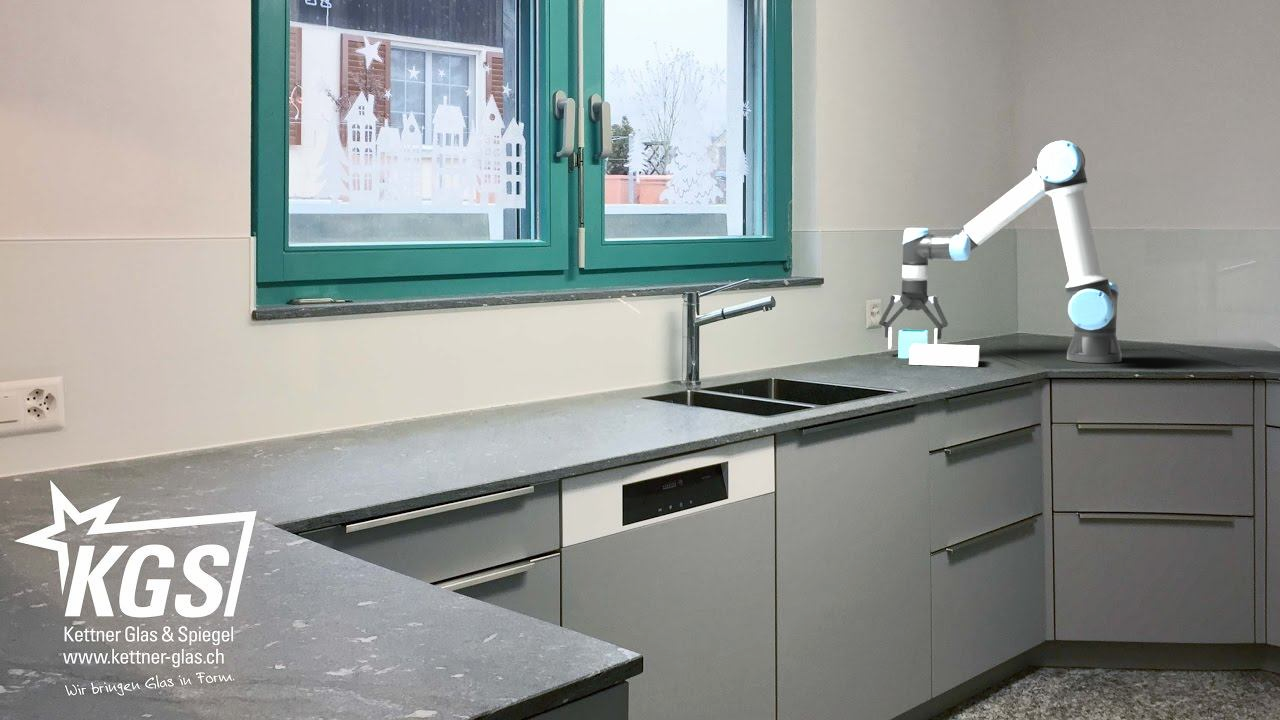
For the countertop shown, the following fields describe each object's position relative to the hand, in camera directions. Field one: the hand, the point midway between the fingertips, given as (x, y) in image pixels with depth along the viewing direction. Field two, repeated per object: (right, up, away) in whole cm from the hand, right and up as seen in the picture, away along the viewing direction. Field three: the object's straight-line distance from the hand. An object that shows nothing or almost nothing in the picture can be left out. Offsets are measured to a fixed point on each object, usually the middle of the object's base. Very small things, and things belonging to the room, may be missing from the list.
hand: (912, 349), depth 367 cm
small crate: (0, -2, 0) cm, 2 cm away
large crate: (+6, -4, -15) cm, 17 cm away
